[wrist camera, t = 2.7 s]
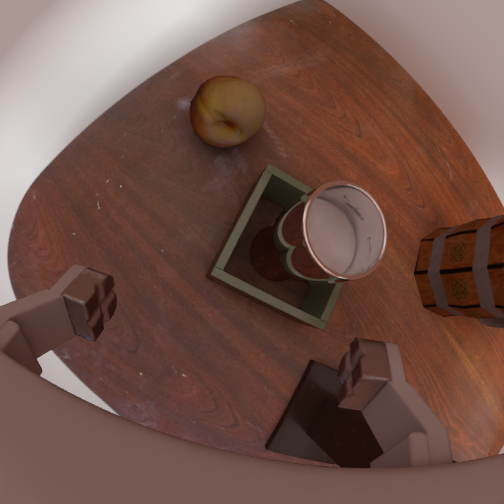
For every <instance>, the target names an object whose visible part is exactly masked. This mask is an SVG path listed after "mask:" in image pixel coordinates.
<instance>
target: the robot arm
mask: <svg viewBox="0 0 504 504" xmlns="http://www.w3.org/2000/svg"><path fill="white" fill-rule="evenodd" d="M114 285H115V284H114V279H113V277H112V276H110V275H108V274H105V273H102V272H99V271H96V270H94V269H91V268H87V267H85V266H82V265H79V264H75V265H73V266H72V267H71V268H70V269H69V270H68V271H67V272H66V273H65V274H64V275H63V276H62V277H61V278H60V279H59V280H58V281H57V282H56V283H55V284H54V285H53V287H52V288H51V289H50V290H48V289H45V290H42V291H39V292H37V293H34V294H31V295H29V296H26V297H23V298H21V299H18V300H16V301H13V302H10V303H8V304H6V305H3V306H0V504H504V453H503V454H499V455H494V456H490V457H485V458H480V459H475V460H469V461H463V462H456V463H453V460H452V453H451V446H450V440H449V434H448V430H447V429H446V427H445V426H444V425H443V423H442V422H441V421H440V420H439V418H438V417H437V416H436V415H435V413H434V412H433V411H432V410H431V409H430V407H429V406H428V405H427V404H426V402H425V401H424V400H423V399H422V397H421V396H420V395H419V394H418V393H417V391H416V390H415V389H414V388H413V386H412V385H411V384H410V383H406V379H405V373H404V368H403V364H402V359H401V354H400V350H399V346H398V345H397V344H394V343H388V342H381V341H375V340H369V339H363V338H357V337H356V338H355V339H354V340H353V341H352V343H351V344H350V350H351V351H349V352H347V353H345V354H344V356H343V358H342V359H341V362H340V366H339V371H338V380H339V381H340V383H341V384H342V386H341V388H340V389H339V390H338V402H339V407H340V408H347V409H354V410H362V411H361V412H362V414H363V416H364V418H365V419H366V421H367V423H368V425H369V427H370V428H371V430H372V432H373V434H374V436H375V437H376V439H377V441H378V443H379V445H380V447H381V448H382V450H383V452H384V453H383V454H382V455H380V456H379V457H378V458H376V459H375V460H373V461H372V462H371V467H370V468H343V467H328V466H316V465H306V464H298V463H290V462H283V461H276V460H270V459H264V458H259V457H253V456H248V455H243V454H239V453H234V452H230V451H225V450H221V449H217V448H213V447H209V446H206V445H202V444H198V443H195V442H191V441H188V440H185V439H181V438H178V437H175V436H172V435H169V434H166V433H163V432H160V431H157V430H154V429H151V428H149V427H146V426H143V425H141V424H138V423H135V422H133V421H130V420H128V419H125V418H123V417H121V416H118V415H116V414H113V413H111V412H109V411H107V410H104V409H102V408H100V407H98V406H95V405H94V404H91V403H89V402H87V401H85V400H83V399H81V398H79V397H77V396H75V395H73V394H71V393H69V392H67V391H66V390H64V389H62V388H60V387H58V386H56V385H54V384H53V383H51V382H49V381H47V380H46V379H44V378H42V377H41V376H40V375H41V373H42V368H41V366H40V364H39V363H38V361H37V358H38V357H40V356H42V355H43V354H45V353H46V352H48V351H50V350H52V349H53V348H55V347H57V346H59V345H60V344H62V343H64V342H65V341H67V340H69V339H71V338H72V337H74V336H75V334H76V335H79V336H81V337H83V338H86V339H88V340H91V341H94V342H95V341H96V340H97V338H98V337H99V335H100V334H101V332H102V331H103V329H104V325H103V323H104V322H107V321H109V320H110V319H111V318H112V316H113V315H114V312H115V309H116V306H117V298H116V294H115V293H114V291H113V290H112V288H113V287H114Z"/></svg>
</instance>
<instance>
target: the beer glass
mask: <svg viewBox="0 0 504 504" xmlns="http://www.w3.org/2000/svg"><path fill="white" fill-rule="evenodd" d="M387 243H388V228H387V223H386V219H385V216H384V213H383V211H382V209H381V207H380V205H379V203H378V202H377V201H376V199H375V198H374V197H373V196H372V195H371V194H370V193H369V192H368V191H367V190H366V189H364V188H363V187H361V186H360V185H358V184H356V183H353V182H350V181H344V180H336V181H331V182H328V183H325V184H323V185H322V186H320V187H319V188H316V189H314V190H312V191H310V192H308V193H306V194H304V195H303V196H301V197H300V198H298V199H296V200H295V201H294V202H292V203H291V204H290V205H289V206H288V207H286V208H285V209H284V210H283V211H282V213H281V214H280V215H279V217H278V218H277V219H276V221H275V222H274V224H273V225H272V226H268V227H266V228H264V229H262V230H261V231H260V232H258V233H257V235H256V236H255V237H254V239H253V241H252V244H251V248H250V257H251V261H252V264H253V266H254V268H255V269H256V271H257V272H258V273H259V274H260V275H261V276H263V277H264V278H266V279H268V280H271V281H285V280H288V279H290V278H291V279H294V280H296V281H299V282H303V283H307V284H318V285H325V284H335V283H340V282H345V281H349V280H358V279H361V278H364V277H366V276H368V275H369V274H371V273H372V272H373V271H374V270H375V269H376V268H377V267H378V266H379V264H380V263H381V261H382V259H383V257H384V255H385V252H386V248H387Z"/></svg>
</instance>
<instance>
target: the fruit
mask: <svg viewBox="0 0 504 504" xmlns="http://www.w3.org/2000/svg"><path fill="white" fill-rule="evenodd" d="M189 110H190V120H191V125H192V128H193V130H194V132H195V134H196V135H197V136H198V137H199V138H200V139H201V140H202V141H204V142H205V143H206V144H209V145H211V146H214V147H222V148H224V147H231V146H235V145H238V144H241V143H243V142H245V141H246V140H248V139H249V138H251V137H252V136H253V135H254V134H255V133H256V132H257V131H258V130H259V129H260V127H261V126H262V124H263V122H264V119H265V115H266V106H265V101H264V98H263V96H262V94H261V92H260V91H259V89H258V88H257V87H256V86H255V85H253V84H252V83H250V82H249V81H247V80H244V79H241V78H237V77H234V76H232V77H230V76H216V77H213V78H211V79H209V80H207V81H206V82H204V83H202V84H201V86H200V87H199V89H198V91H197V93H196V95H195V96H194V98H193V99H192V101H191V106H190V109H189Z"/></svg>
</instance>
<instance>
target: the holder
mask: <svg viewBox="0 0 504 504" xmlns="http://www.w3.org/2000/svg"><path fill="white" fill-rule="evenodd" d="M312 190H313V189H311V188H310V187H308V186H307V185H305V184H303V183H302V182H300V181H298V180H297V179H295V178H293V177H291V176H290V175H288V174H286V173H285V172H283V171H281V170H279V169H278V168H276V167H274V166H272V165H271V164H268V165H267V166H266V167H265V169H264V170H263V171H262V173H261V174H260V175H259V177H258V178H257V179H256V181H255V182H254V183H253V185H252V187H251V189H250V191H249V193H248V194H247V196H246V198H245V200H244V202H243V204H242V206H241V208H240V210H239V211H238V213H237V215H236V217H235V219H234V221H233V223H232V225H231V227H230V229H229V231H228V232H227V234H226V236H225V238H224V240H223V242H222V244H221V246H220V248H219V250H218V252H217V254H216V256H215V258H214V260H213V262H212V264H211V266H210V268H209V270H208V271H207V273H206V275H205V277H206V278H208V279H210V280H212V281H214V282H216V283H218V284H220V285H222V286H224V287H225V288H227V289H229V290H231V291H233V292H235V293H237V294H239V295H241V296H243V297H245V298H247V299H249V300H251V301H253V302H255V303H257V304H260V305H262V306H264V307H266V308H268V309H270V310H272V311H274V312H276V313H278V314H280V315H282V316H284V317H286V318H288V319H291V320H293V321H295V322H297V323H299V324H302V325H306V326H309V327H313V328H317V329H320V330H324V328H325V326H326V324H327V323H326V322H328V319H329V317H330V315H331V313H332V310H333V308H334V306H335V303H336V301H337V298H338V296H339V294H340V291H341V289H342V286H343V284H344V282H340V283H335V284H325V285H318V284H310V286H309V289H308V291H307V293H306V295H305V298H304V300H303V302H302V304H301V306H300V309H298V308H296V307H294V306H292V305H290V304H288V303H286V302H284V301H282V300H280V299H278V298H276V297H274V296H272V295H270V294H268V293H266V292H264V291H262V290H260V289H258V288H256V287H254V286H252V285H250V284H248V283H246V282H244V281H242V280H240V279H238V278H236V277H234V276H232V275H230V274H229V273H227V272H225V271H223V270H224V268H225V266H226V264H227V262H228V260H229V258H230V256H231V254H232V252H233V250H234V248H235V246H236V244H237V242H238V240H239V238H240V236H241V234H242V232H243V230H244V228H245V226H246V224H247V222H248V221H249V219H250V217H251V215H252V213H253V211H254V209H255V207H256V205H257V203H258V201H259V199H260V197H261V195H262V196H264V197H266V198H268V199H269V200H271V201H273V202H275V203H277V204H278V205H280V206H282V207H284V208H286V207H288V206H289V205H290V204H291V203H292V202H294V201H295V200H296V199H298V198H300V197H301V196H303V195H304V194H306V193H308V192H310V191H312Z"/></svg>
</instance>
